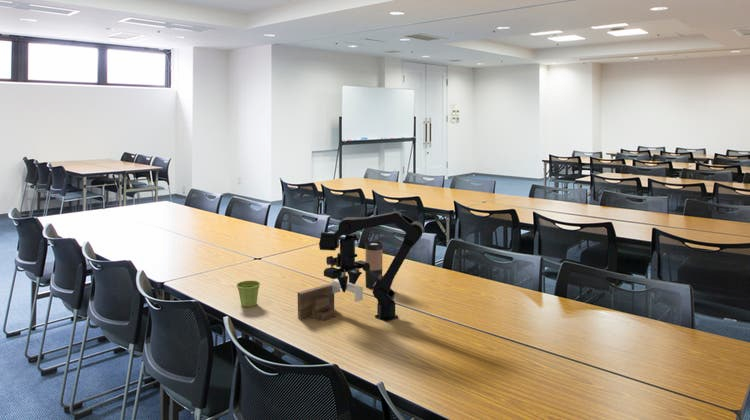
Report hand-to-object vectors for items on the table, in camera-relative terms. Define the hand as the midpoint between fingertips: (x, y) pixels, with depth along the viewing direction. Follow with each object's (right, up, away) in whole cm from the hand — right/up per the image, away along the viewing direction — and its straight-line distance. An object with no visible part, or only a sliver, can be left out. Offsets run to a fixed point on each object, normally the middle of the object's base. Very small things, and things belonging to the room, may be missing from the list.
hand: (347, 291), depth 197 cm
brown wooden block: (-10, -9, 0) cm, 14 cm away
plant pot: (-40, -7, +11) cm, 42 cm away
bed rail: (0, -2, 0) cm, 2 cm away
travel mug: (+10, -4, +36) cm, 37 cm away
